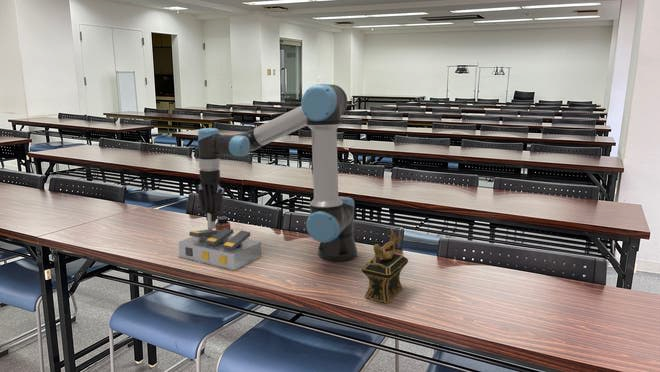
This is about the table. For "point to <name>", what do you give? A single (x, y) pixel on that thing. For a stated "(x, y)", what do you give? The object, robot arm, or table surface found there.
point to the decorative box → (385, 271)
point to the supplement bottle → (222, 224)
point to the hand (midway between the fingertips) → (211, 228)
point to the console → (220, 252)
